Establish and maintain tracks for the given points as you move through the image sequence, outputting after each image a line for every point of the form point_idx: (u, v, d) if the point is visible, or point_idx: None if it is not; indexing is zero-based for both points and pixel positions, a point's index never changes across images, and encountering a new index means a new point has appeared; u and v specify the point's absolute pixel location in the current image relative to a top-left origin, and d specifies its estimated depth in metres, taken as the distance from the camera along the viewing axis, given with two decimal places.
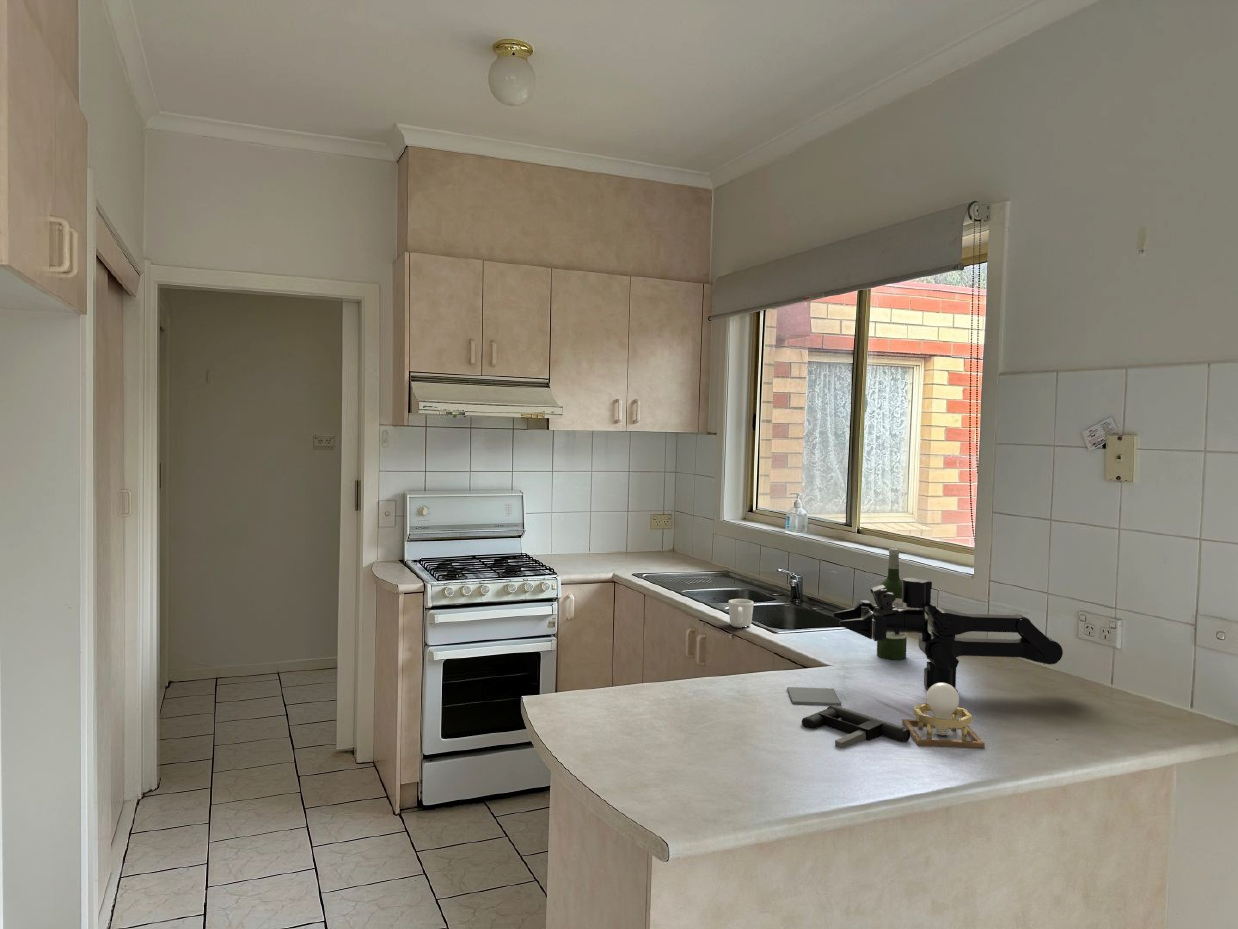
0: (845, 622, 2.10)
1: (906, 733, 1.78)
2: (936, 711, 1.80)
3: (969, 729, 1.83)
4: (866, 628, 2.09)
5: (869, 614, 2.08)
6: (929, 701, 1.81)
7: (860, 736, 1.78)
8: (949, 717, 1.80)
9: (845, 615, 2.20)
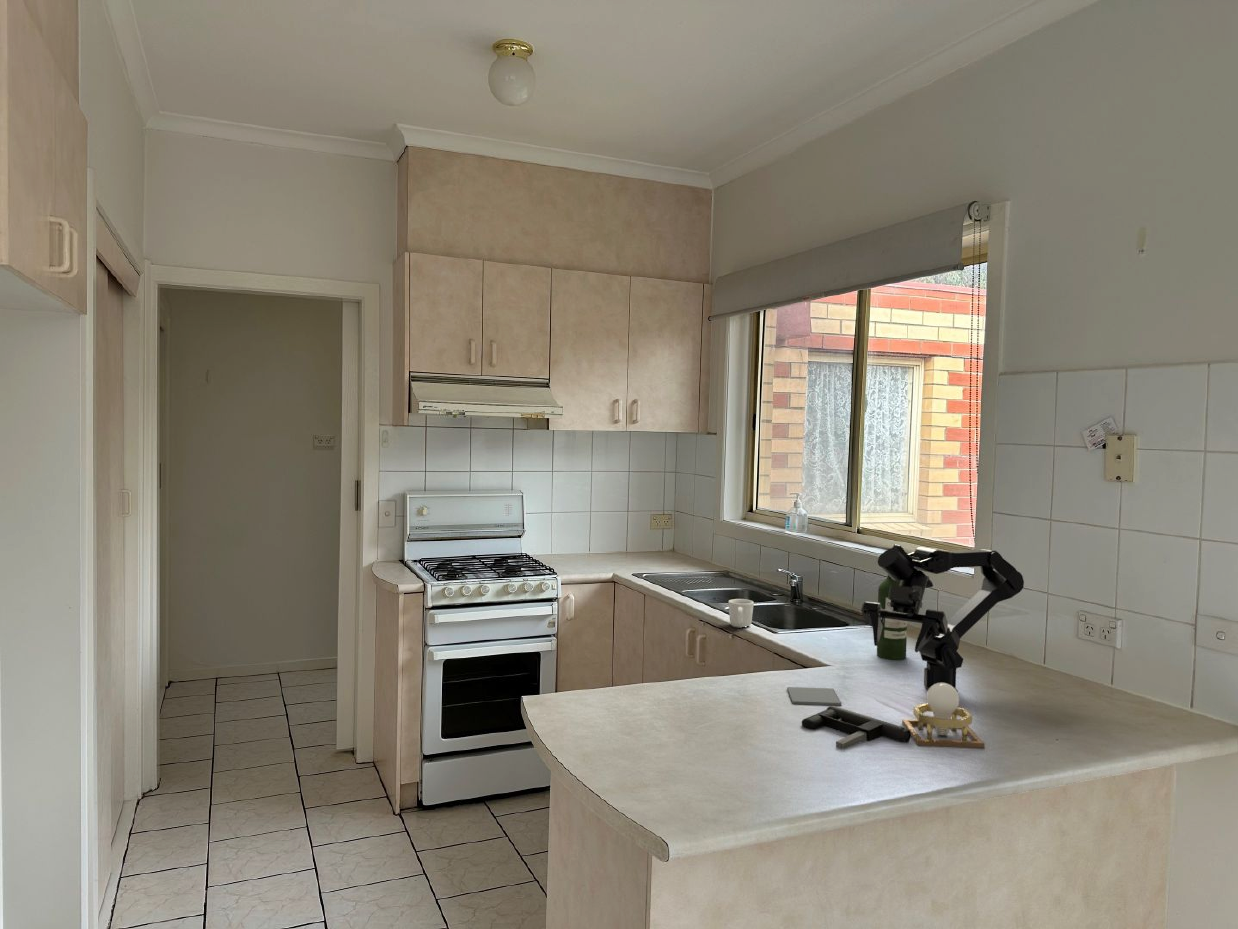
0: (919, 646, 1.97)
1: (907, 734, 1.78)
2: (936, 711, 1.80)
3: (969, 729, 1.83)
4: (928, 631, 2.00)
5: (928, 621, 1.98)
6: (929, 701, 1.81)
7: (861, 737, 1.78)
8: (949, 717, 1.80)
9: (878, 634, 2.04)
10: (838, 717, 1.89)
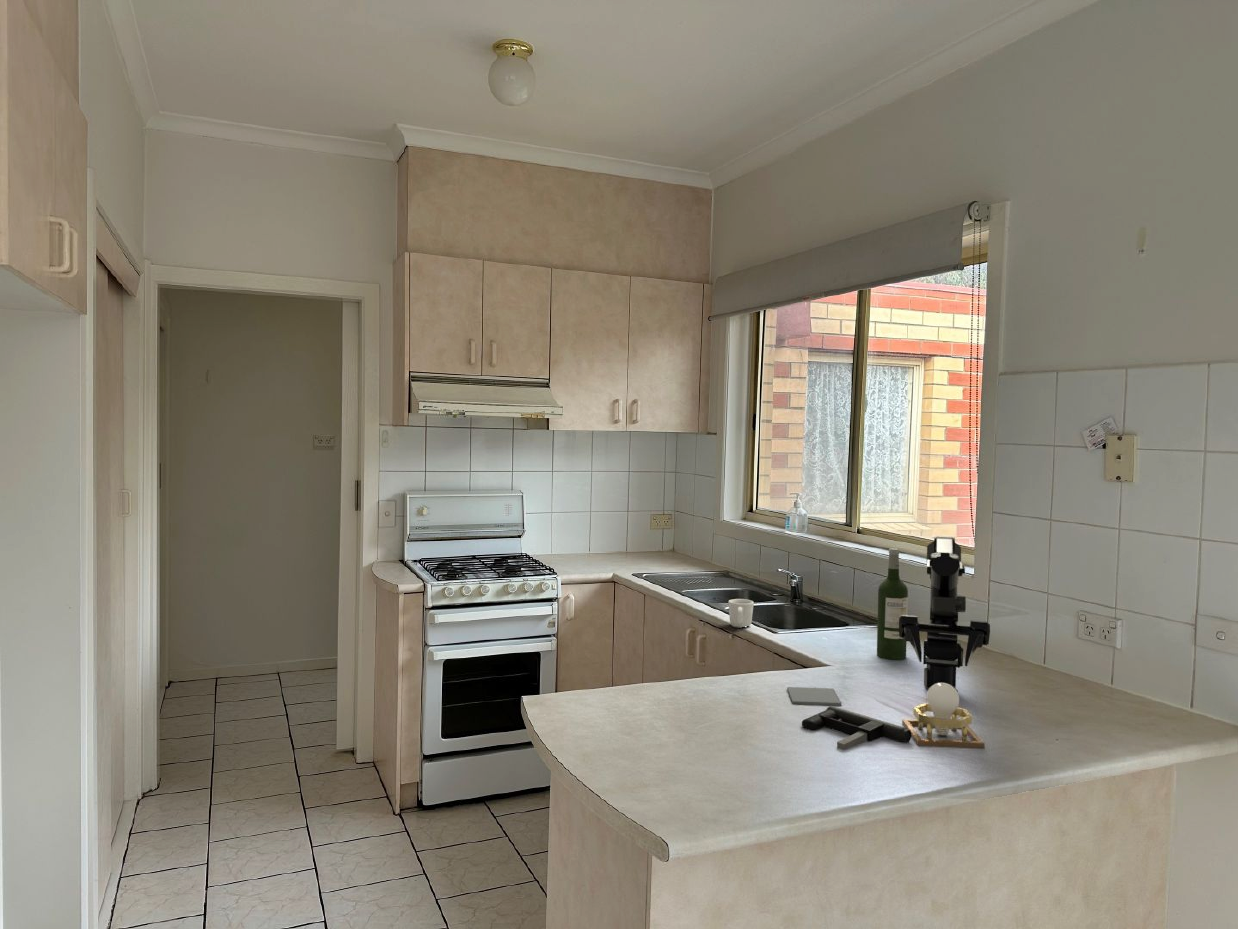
0: (969, 659, 1.87)
1: (907, 734, 1.78)
2: (936, 711, 1.80)
3: (969, 729, 1.83)
4: None
5: (976, 633, 1.89)
6: (929, 701, 1.81)
7: (862, 737, 1.77)
8: (949, 717, 1.80)
9: None
10: (838, 717, 1.89)
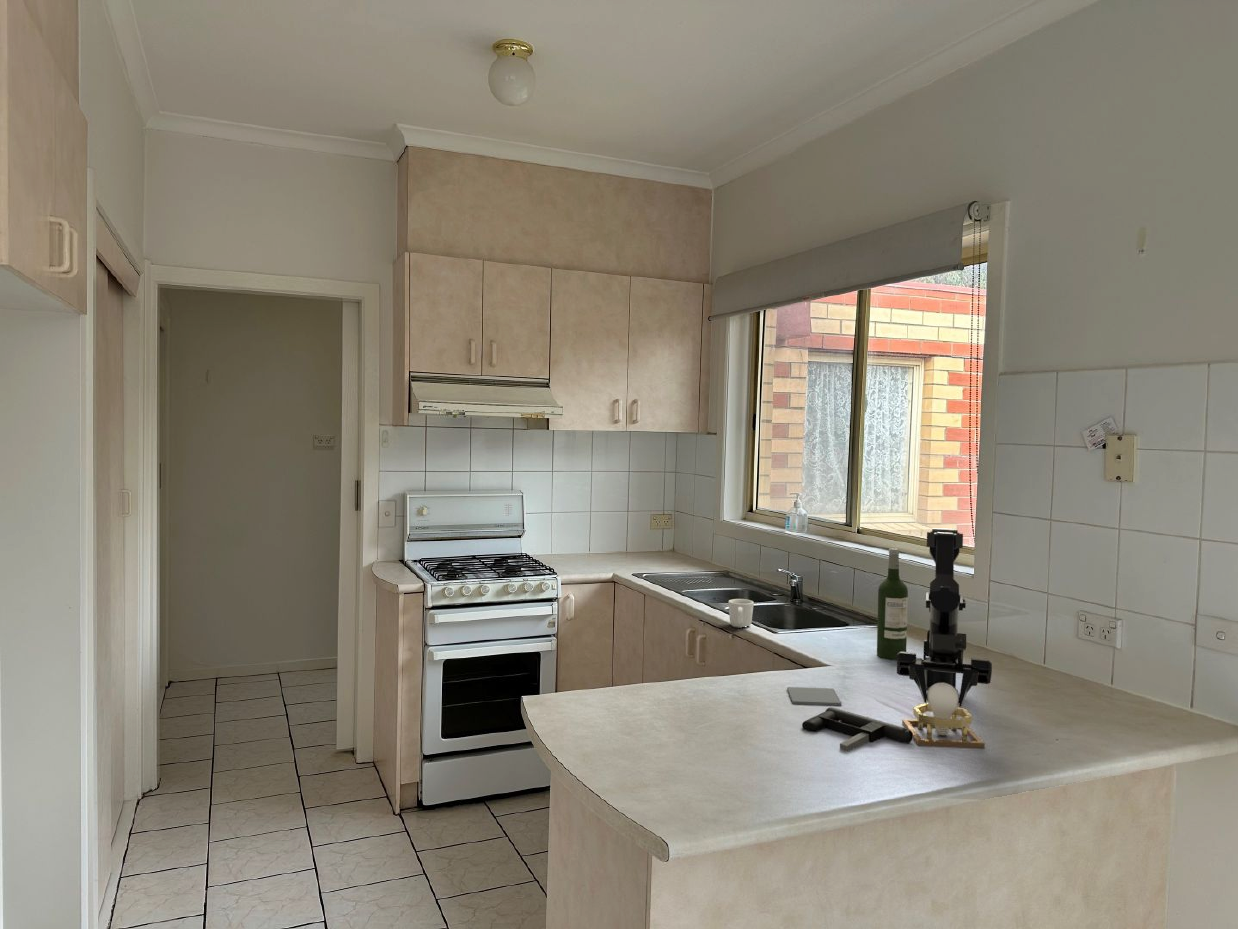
0: (963, 699, 1.80)
1: (909, 734, 1.77)
2: (936, 711, 1.80)
3: (969, 729, 1.83)
4: None
5: (970, 671, 1.81)
6: (929, 701, 1.81)
7: (863, 738, 1.77)
8: (949, 717, 1.80)
9: None
10: (838, 719, 1.88)
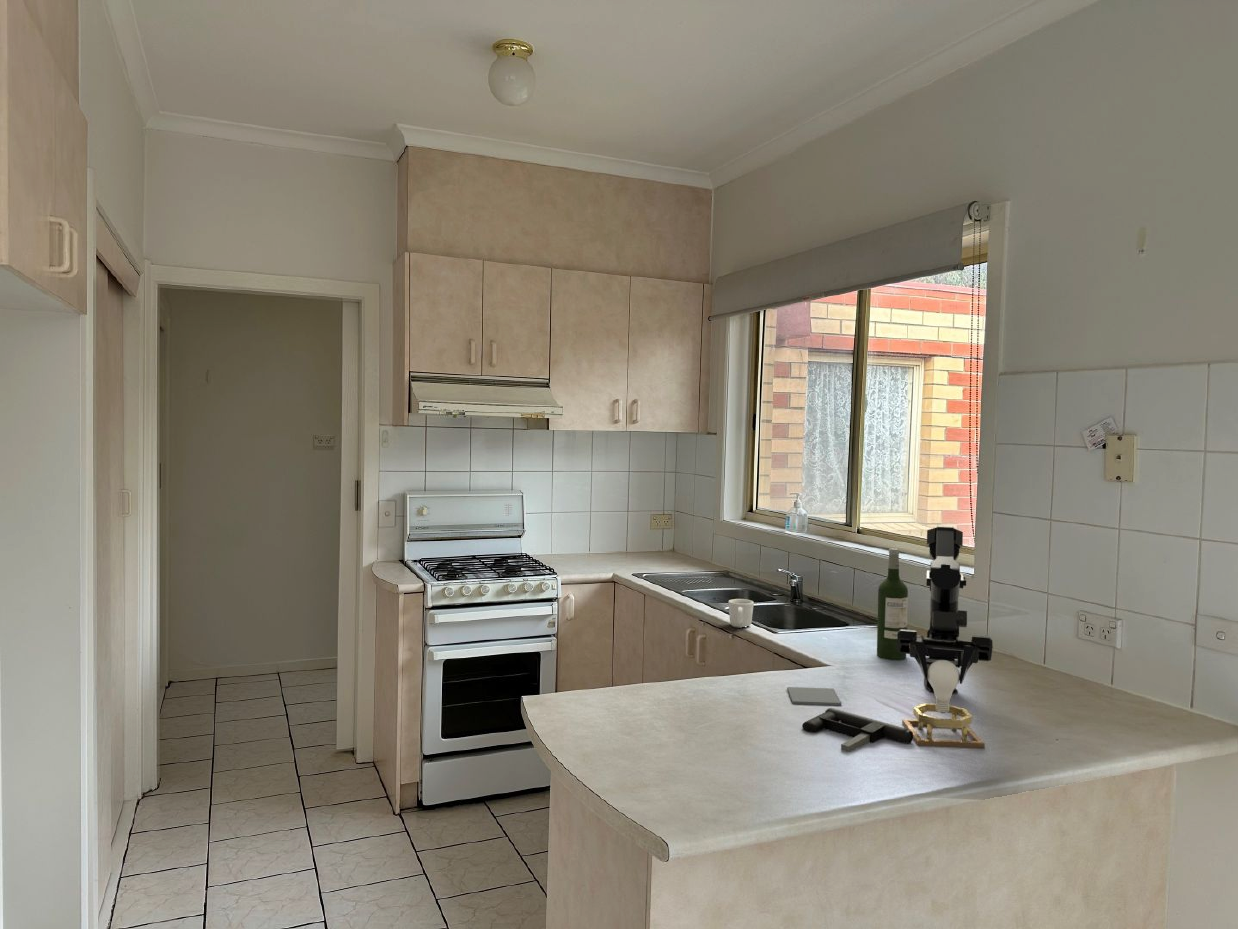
0: (963, 676, 1.80)
1: (909, 735, 1.77)
2: (937, 688, 1.80)
3: (969, 729, 1.83)
4: None
5: (971, 648, 1.81)
6: (930, 678, 1.81)
7: (864, 739, 1.76)
8: (950, 694, 1.80)
9: None
10: (838, 719, 1.88)
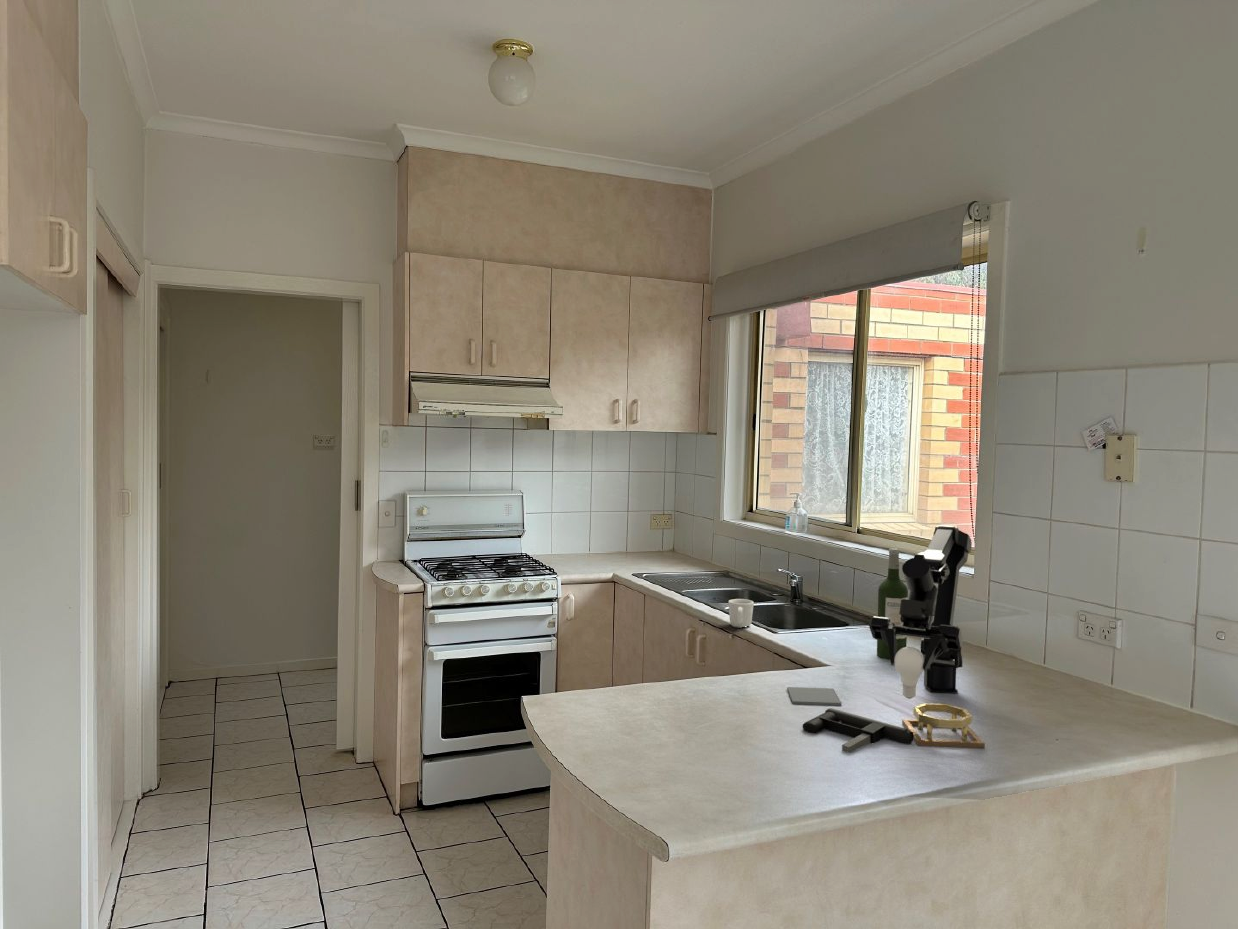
0: (927, 663, 1.84)
1: (910, 735, 1.77)
2: (901, 673, 1.85)
3: (969, 729, 1.83)
4: (935, 647, 1.87)
5: (937, 636, 1.85)
6: (895, 664, 1.86)
7: (865, 739, 1.76)
8: (914, 680, 1.85)
9: (894, 653, 1.89)
10: (838, 720, 1.88)
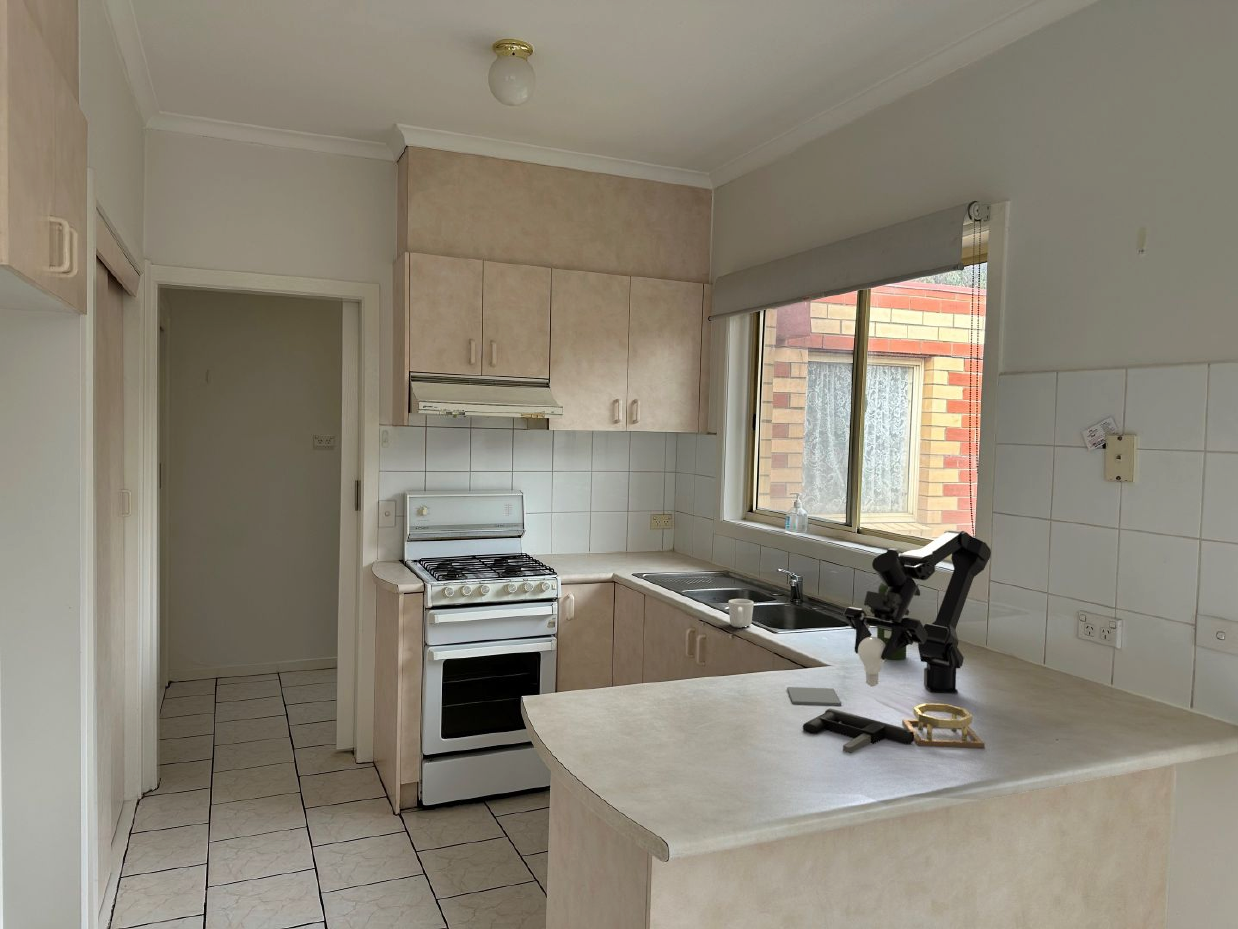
0: (886, 653, 1.92)
1: (910, 735, 1.77)
2: (862, 661, 1.95)
3: (969, 729, 1.83)
4: (899, 639, 1.94)
5: (897, 628, 1.92)
6: None
7: (866, 740, 1.76)
8: (874, 669, 1.94)
9: None
10: (838, 720, 1.87)
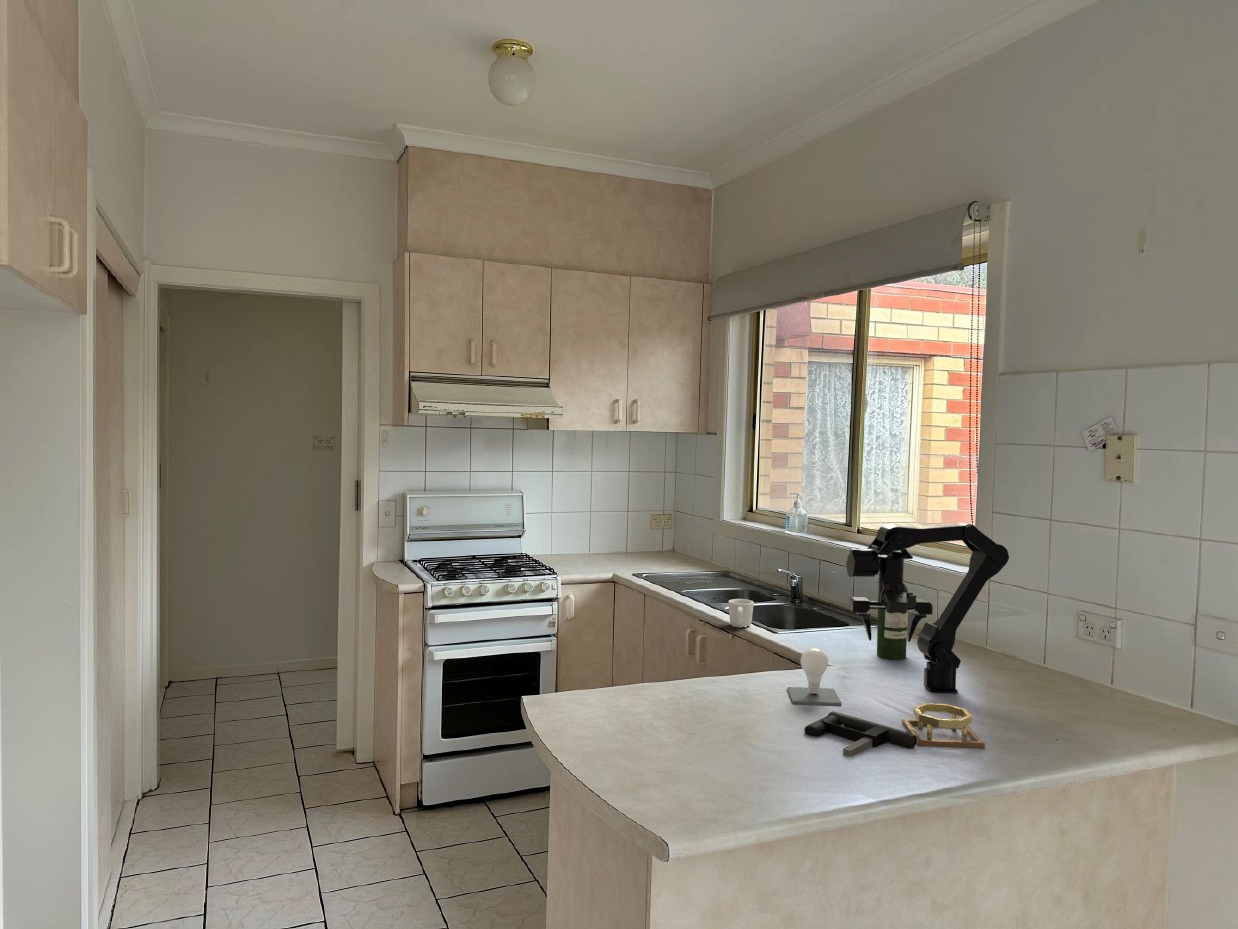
0: None
1: (913, 739, 1.75)
2: None
3: (969, 729, 1.83)
4: None
5: (920, 617, 2.09)
6: None
7: (867, 743, 1.74)
8: (812, 678, 2.05)
9: None
10: (840, 723, 1.85)
